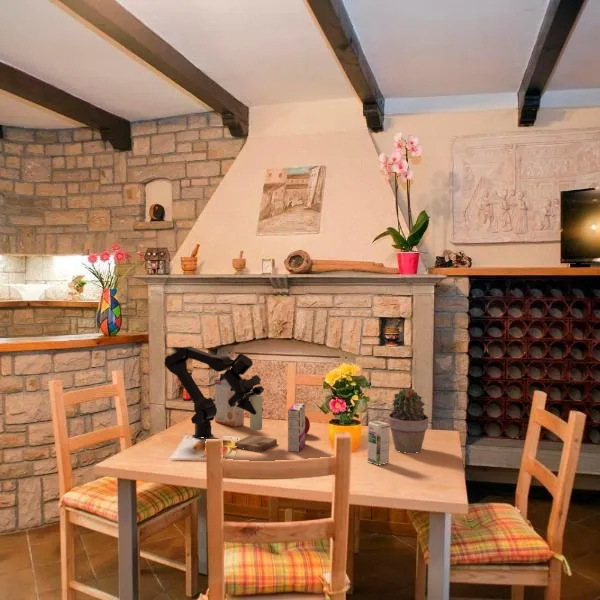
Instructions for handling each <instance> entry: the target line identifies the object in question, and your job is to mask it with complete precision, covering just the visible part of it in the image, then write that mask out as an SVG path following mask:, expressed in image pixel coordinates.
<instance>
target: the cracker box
mask: <svg viewBox="0 0 600 600" xmlns="http://www.w3.org/2000/svg"><path fill="white" fill-rule="evenodd" d="M214 379H215V380H214V382H215V384H214V386H215V388H214V389H215V390H214V391H215V393H214V396H215V397H214V399H215V400H214V403H215V404H216V408H217V413H216V415H215V417H214V422H215V423H218V424H223V425H226V426H230V427H233V428H235V427H239V426H244V425H245V410H244V409H242V408H239V407H236V406H237V405H238V403H237V402H236V405H235V406H233V407H230V406H229V404H228V400H229V399H230V398H231V397H232V396H233V395H234V394H235V392H234V391H232V392H231V390H230V389H231V387H230V385H229V384H228V383H227V381H226V380H222V381H220V376H216V377H215V378H214Z"/></svg>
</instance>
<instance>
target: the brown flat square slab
mask: <svg viewBox="0 0 600 600" xmlns="http://www.w3.org/2000/svg"><path fill="white" fill-rule="evenodd" d="M277 442H278V440H277V438H272V437H266V436H259V435H253V434H251V435H250V434H249V436H246V437H244V438H242V439H240V440H237V441H236V442H234V447H235V446H237V447H239V448H238V449H240V448H244V449H243V450H245V449H250V450H249V451H251V450H255V451H254V452H257V451H260V452H259V453H263V452H264V450H265V451H266V449H267V450H268V449H270V448H272V447H274V446H276V445H278V443H277ZM275 444H276V445H275ZM262 451H263V452H262Z"/></svg>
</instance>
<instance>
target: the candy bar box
mask: <svg viewBox="0 0 600 600" xmlns="http://www.w3.org/2000/svg"><path fill="white" fill-rule="evenodd" d="M305 416H306V403H301V402H300V403H299V402H298V403H297V402H294V403H292V405H291V406H290V407H289V408H288V409H287V441H288V442H287V449H288V452H290V453H291V452H293V453H300V452H301V450H303V448H304V447H305V445H306V435H305Z"/></svg>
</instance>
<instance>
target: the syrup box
mask: <svg viewBox="0 0 600 600" xmlns="http://www.w3.org/2000/svg"><path fill="white" fill-rule="evenodd" d="M367 427H368V429H367V462H368V461H370V462H372V463H375V464H378V465H379V464H383V463H386V462H389V463H390V433H391V429H390V424H388V423H387V422H384V421H381V420H380V421H379V420H375V421H370V422H368V425H367ZM372 463H371V464H372Z"/></svg>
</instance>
